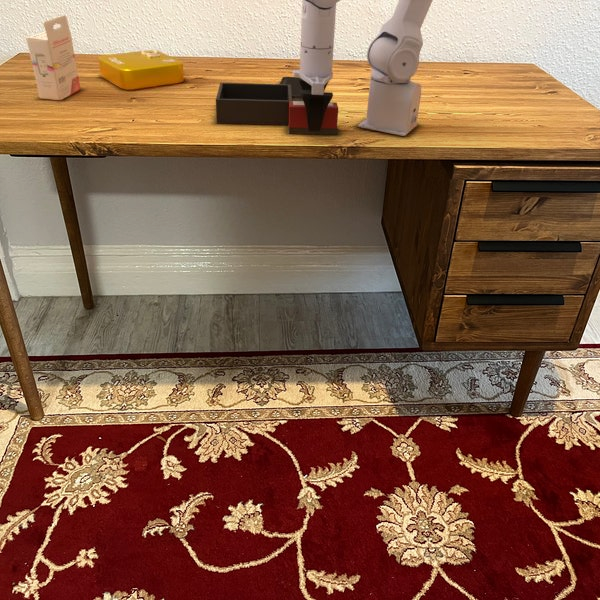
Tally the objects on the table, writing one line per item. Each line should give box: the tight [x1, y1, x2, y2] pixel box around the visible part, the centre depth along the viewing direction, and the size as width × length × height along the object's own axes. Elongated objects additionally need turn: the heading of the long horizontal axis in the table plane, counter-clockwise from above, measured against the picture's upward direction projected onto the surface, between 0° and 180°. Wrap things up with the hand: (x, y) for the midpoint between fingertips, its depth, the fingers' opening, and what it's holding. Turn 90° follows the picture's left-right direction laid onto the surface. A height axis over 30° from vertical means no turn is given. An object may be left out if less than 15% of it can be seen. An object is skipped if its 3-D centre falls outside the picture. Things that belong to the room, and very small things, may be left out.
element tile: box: [98, 49, 185, 91], centre depth 134 cm, size 15×15×5 cm
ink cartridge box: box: [25, 14, 81, 101], centre depth 120 cm, size 9×5×15 cm, turn 168°
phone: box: [279, 76, 303, 101], centre depth 131 cm, size 8×1×15 cm
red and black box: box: [288, 101, 339, 136], centre depth 109 cm, size 9×3×5 cm, turn 92°
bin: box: [215, 82, 292, 126], centre depth 116 cm, size 14×12×4 cm
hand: (313, 123), depth 110 cm, fingers open, 7 cm apart
